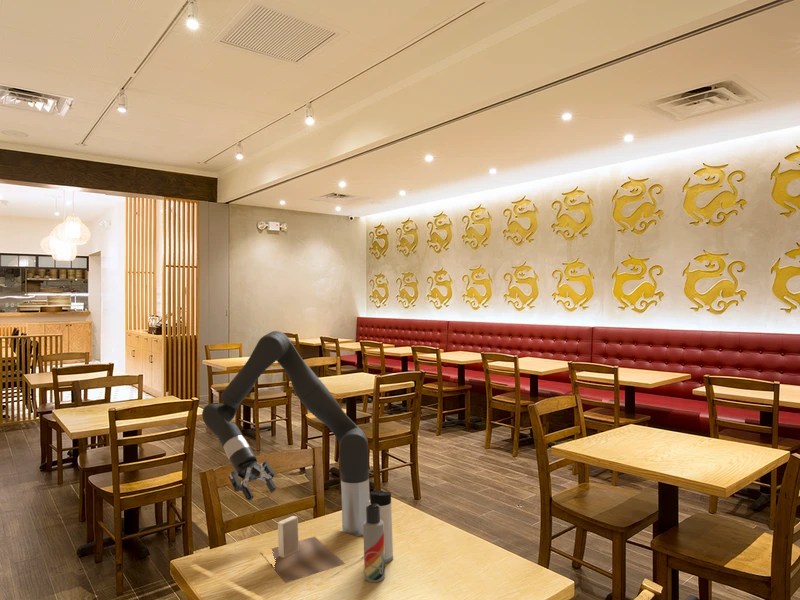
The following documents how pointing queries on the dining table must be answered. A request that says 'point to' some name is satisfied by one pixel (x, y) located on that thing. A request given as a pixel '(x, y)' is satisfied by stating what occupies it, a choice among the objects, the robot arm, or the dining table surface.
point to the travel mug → (385, 519)
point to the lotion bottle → (374, 544)
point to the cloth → (305, 560)
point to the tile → (288, 536)
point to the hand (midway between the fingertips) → (262, 495)
